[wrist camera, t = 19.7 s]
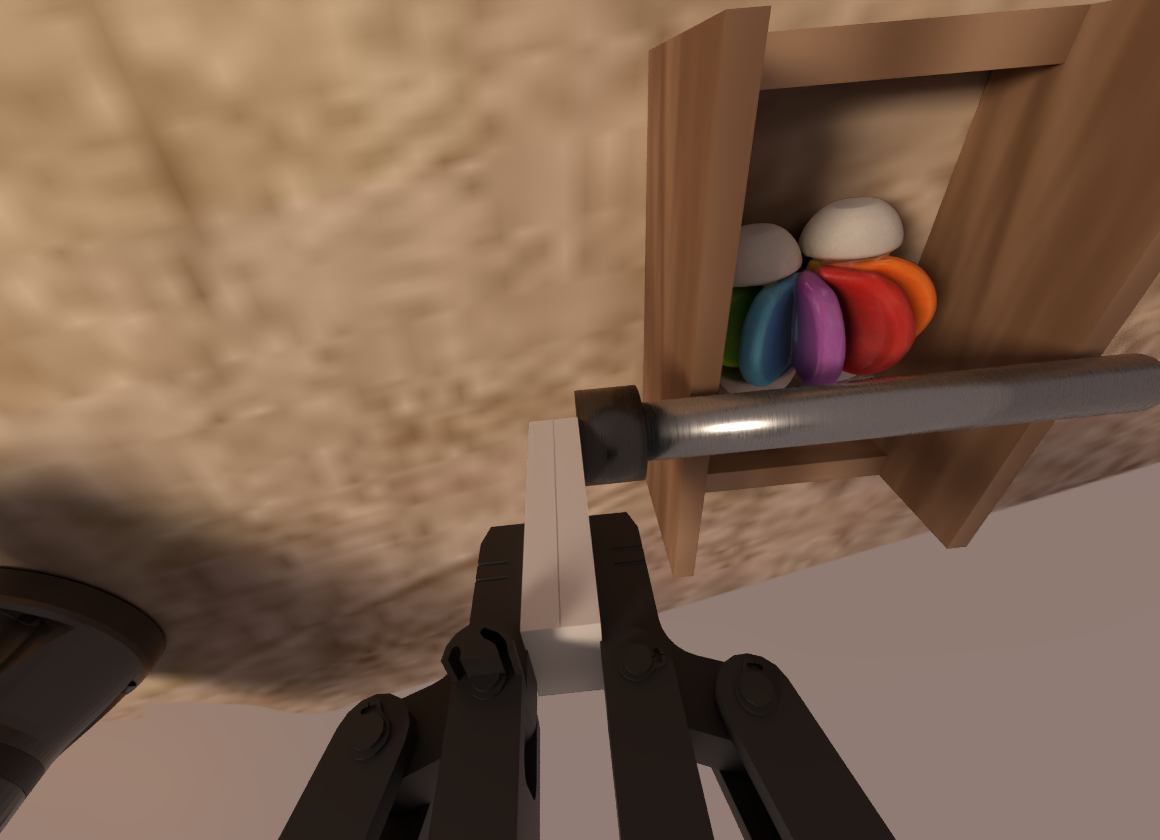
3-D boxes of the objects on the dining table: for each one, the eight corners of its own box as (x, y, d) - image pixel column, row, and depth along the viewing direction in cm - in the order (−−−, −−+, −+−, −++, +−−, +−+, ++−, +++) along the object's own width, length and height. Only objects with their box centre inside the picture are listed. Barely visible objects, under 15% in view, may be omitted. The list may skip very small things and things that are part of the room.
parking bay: (642, 465, 29) (673, 577, 22) (649, 50, 16) (725, 9, 10) (865, 442, 29) (966, 546, 22) (1036, 17, 17) (1384, -47, 10)
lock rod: (578, 445, 17) (586, 506, 14) (572, 373, 15) (578, 429, 12) (1058, 396, 17) (1151, 448, 15) (1111, 320, 15) (1227, 363, 13)
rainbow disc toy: (860, 343, 25) (959, 417, 19) (691, 382, 25) (736, 465, 20) (887, 178, 20) (1034, 209, 14) (677, 233, 21) (732, 283, 15)
